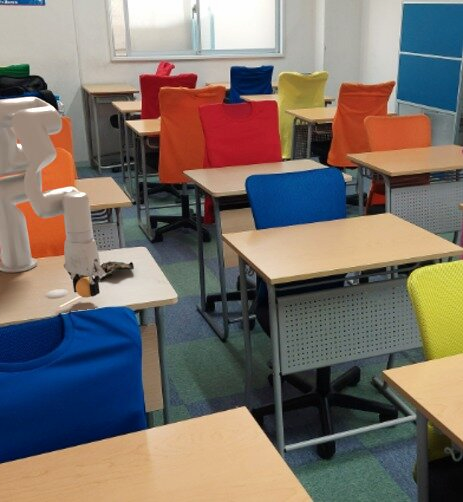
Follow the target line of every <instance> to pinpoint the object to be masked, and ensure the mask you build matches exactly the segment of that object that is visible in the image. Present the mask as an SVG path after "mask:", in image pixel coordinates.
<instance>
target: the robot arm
mask: <svg viewBox="0 0 463 502" xmlns="http://www.w3.org/2000/svg"><path fill="white" fill-rule="evenodd" d="M62 128H63V120H62V117H61V114H60V113H59V111H58V110H57V109H56V108H55V107H54V106H53V105H51V104H50V103H48V102H46V101H45V100H43V99H41V98H38V97H36V96H24V97H15V98H14V97H13V98H5V99H4V98H3V99H0V176H1V177H0V261H1V263H0V271H1V272H3V273H9V274H10V273H12V274H13V273H21V272H22V273H23V272H26V271H29V270H32V269H34V268H35V267H36V266H37V264H38V261H37V259H36V258H34V257H32V252H31V245H30V237H29V233H28V227H27V220H26V216H25V214H24V212H23V211H21V209H20V208H18V207H17V205H19V204H22V203H27V202H29V204H30V206H31V208H32V210H33V212H34V214H35V215H36V216H37V217H39V218H41V219H48V218H54V217H57V216H61V215H62V216H63V221H64V229H65V230H64V233H65V237H66V238H65V240H64V248H63V250H64V251H63V252H64V253H63V255H64V256H63V257H64V264H63V268H64V269H65V271H66V272H67V274H68V275H69V276H70V279H71V280H72V287H73V292H74V293H77V291H76V284H77V282H78V281H79V280H80V279H81V278H82V277H80V276H82V275H83V276H88V277H89V280H90V282H91V284H89V286H90V294H91V297H93V298H94V297H96V296H97V295H99V294H100V292H101V291H100V284H99V283H100V281H101V279H103V278H102V277H103V276H104V275H106V273H105V271H104V270H103V269H102V268H101V261H100V255H99V250H98V247H97V242H96V240H95V238H94V231H93V222H92V215H91V214H92V213H91V206H90V205H91V204H90V197H89V195H88V194H87V193H86V192H83V191H80V190H78V188H76V187H74V186H63V187H59V188H55V189H49V190H45V191H43V180H42V177H43V176H42V175H43V173H42V170H43V169H44V168H45V167H46V168H47V166H49V165H50V164H51V163H52V162H53V161H55V159H56V158H57V156H58V154H57V149H56V148H55V146H54V143H53V142H52V140H51V137H50V135H56V134H59V133H60V132H61V131H62ZM18 142H19V143H18ZM97 272H98V273H97ZM93 274H94V275H93ZM92 275H93V276H94V277H93V276H92ZM93 278H94V279H93ZM77 294H78V293H77Z"/></svg>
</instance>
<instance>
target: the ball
mask: <svg viewBox="0 0 463 502" xmlns="http://www.w3.org/2000/svg"><path fill="white" fill-rule="evenodd" d="M89 284H91V282H90V280H89V277H84V278H81V279H80V280H79V281H78V282H77V284H76V291H77V294H78V295H79V296H81V297H80V298H85V299H86V298H91V297H92V296H91V294H90V286H89Z"/></svg>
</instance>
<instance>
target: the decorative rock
mask: <svg viewBox="0 0 463 502" xmlns="http://www.w3.org/2000/svg"><path fill="white" fill-rule="evenodd" d="M100 266H101V268H102V269H103V270H104V271H105V274H104V276H103V277H102V278H101V279H103V278H106V277H109V276H112V273H113V272H115V271H116V272H117V271H121V270H135V265H134V263H133V262H132V261H130V262H129V263H125V262H122V261H111V260H110V261H107V262H103V263H102V264H100ZM97 273H98V272H97ZM92 276H94V274H93V275H92ZM79 277H82V278H84V277H88V276H83V275H80V276H79ZM94 278H95V277H93V279H94Z"/></svg>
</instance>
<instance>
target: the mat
mask: <svg viewBox="0 0 463 502" xmlns="http://www.w3.org/2000/svg"><path fill="white" fill-rule="evenodd" d="M68 294H69V291H68V290H67V289H62V288H60V289H53V290H50V291H47V292H46V293H45V294H44V296H45V298H46V299H50V300H51V299H60V298H64V297H66V296H68ZM81 298H82V297H81V296H80V295H79V296H76V297H75V298H73V299H70V300H68V301H67V302H65V303H63V304H61V305H59V306H58V307H59V308H62V307H64V306H67V305H69V304H71V303H72V302H74V301H77V300H78V299H81Z"/></svg>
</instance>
